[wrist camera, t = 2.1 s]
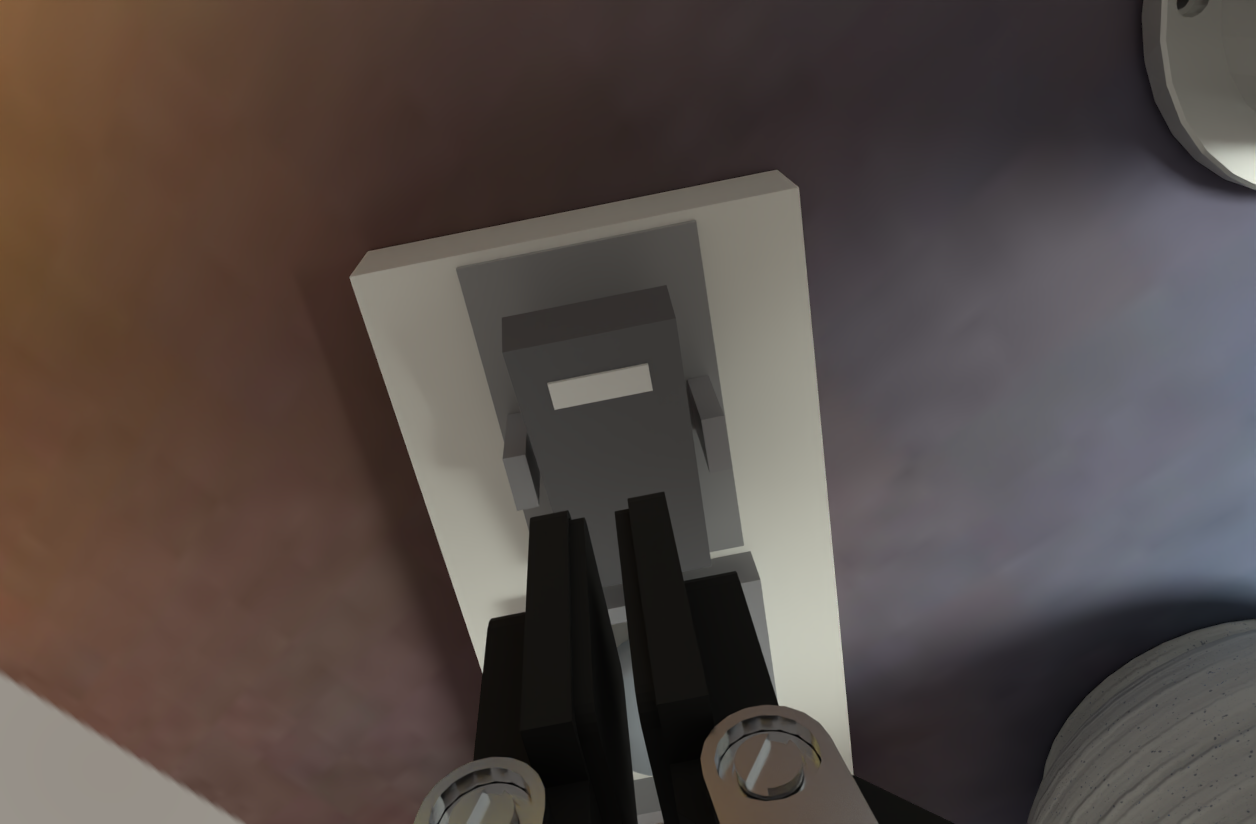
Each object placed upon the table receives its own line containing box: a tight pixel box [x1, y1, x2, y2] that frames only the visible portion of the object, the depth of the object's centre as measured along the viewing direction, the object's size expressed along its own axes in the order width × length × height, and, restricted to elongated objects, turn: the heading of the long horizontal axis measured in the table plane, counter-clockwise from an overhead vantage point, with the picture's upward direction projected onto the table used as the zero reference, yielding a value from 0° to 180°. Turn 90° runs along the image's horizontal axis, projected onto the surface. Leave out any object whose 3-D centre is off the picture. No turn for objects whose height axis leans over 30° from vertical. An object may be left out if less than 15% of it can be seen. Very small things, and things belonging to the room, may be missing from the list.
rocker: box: [502, 285, 712, 588], centre depth 23 cm, size 4×9×2 cm, turn 10°
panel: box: [349, 170, 854, 824], centre depth 29 cm, size 12×29×5 cm, turn 10°
